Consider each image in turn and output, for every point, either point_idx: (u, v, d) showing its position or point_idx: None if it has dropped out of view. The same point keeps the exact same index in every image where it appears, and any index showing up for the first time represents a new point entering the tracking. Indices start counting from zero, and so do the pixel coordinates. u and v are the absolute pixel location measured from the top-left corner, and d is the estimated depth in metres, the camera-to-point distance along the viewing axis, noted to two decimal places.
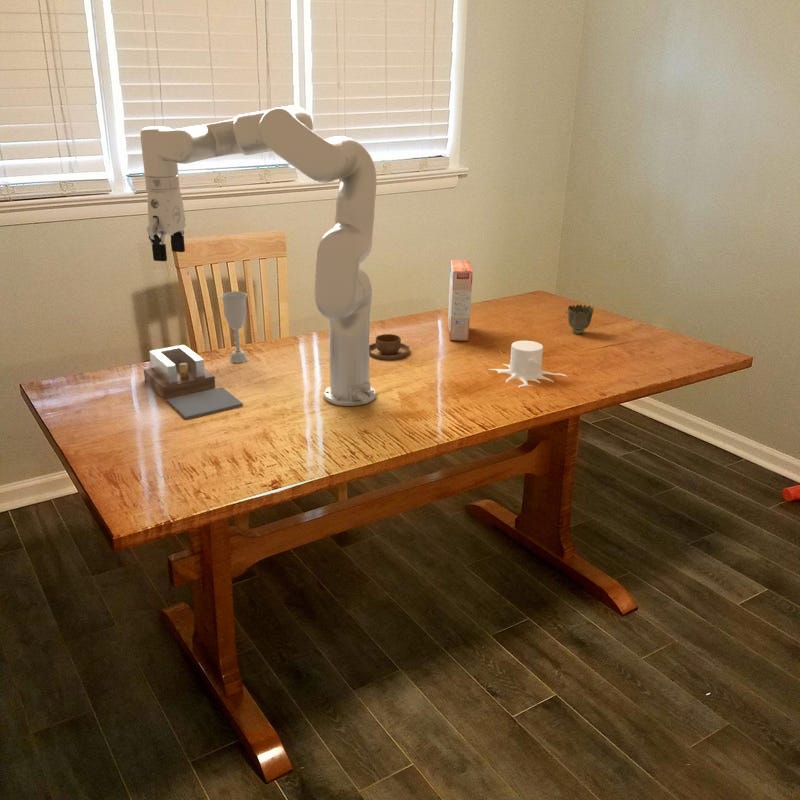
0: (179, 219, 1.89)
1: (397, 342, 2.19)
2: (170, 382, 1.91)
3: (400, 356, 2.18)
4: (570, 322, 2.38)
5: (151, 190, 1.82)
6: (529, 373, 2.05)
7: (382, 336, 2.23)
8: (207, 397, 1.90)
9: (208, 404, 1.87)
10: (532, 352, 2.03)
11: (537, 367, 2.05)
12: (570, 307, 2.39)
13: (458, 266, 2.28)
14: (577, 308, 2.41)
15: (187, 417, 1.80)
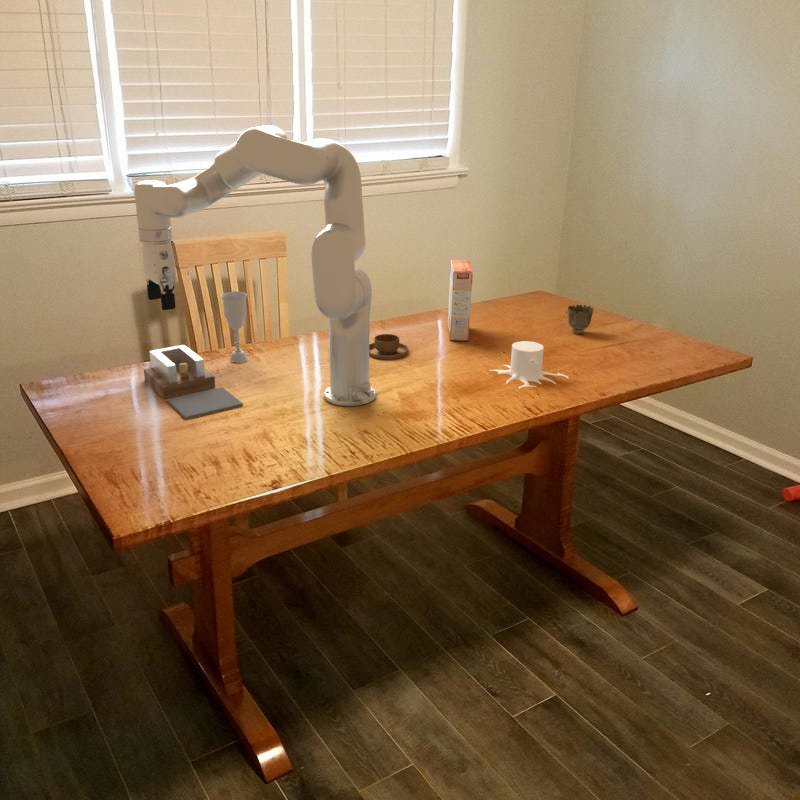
0: None
1: (395, 342, 2.19)
2: (170, 382, 1.91)
3: (398, 356, 2.18)
4: (570, 322, 2.38)
5: (156, 243, 1.87)
6: (530, 373, 2.04)
7: (381, 336, 2.24)
8: (207, 397, 1.90)
9: (208, 404, 1.87)
10: (533, 353, 2.02)
11: (538, 368, 2.05)
12: (570, 307, 2.39)
13: (458, 266, 2.28)
14: (577, 308, 2.41)
15: (187, 417, 1.80)
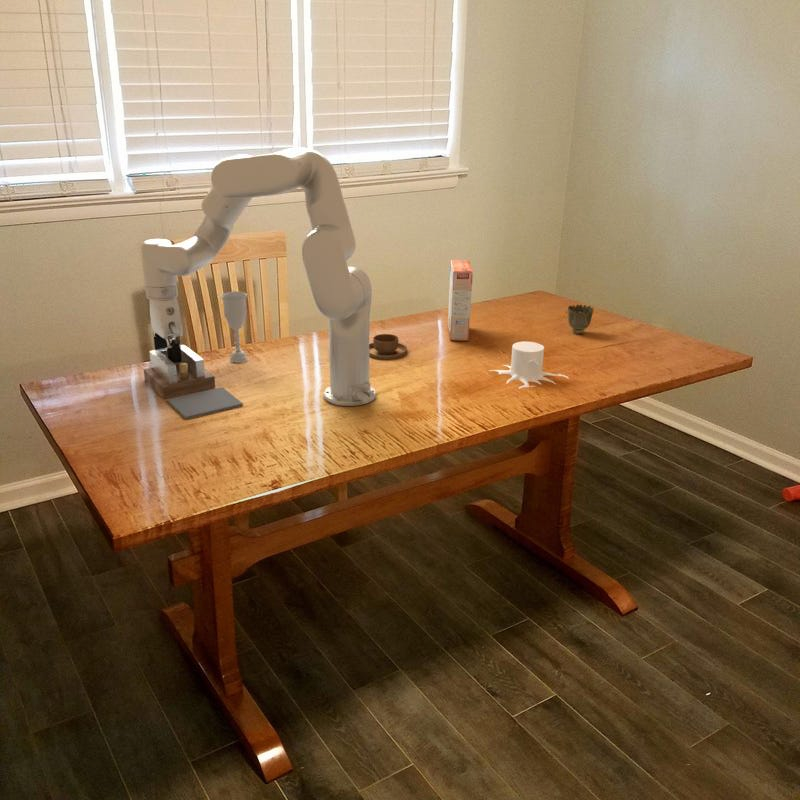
0: None
1: (394, 342, 2.19)
2: (170, 382, 1.91)
3: (396, 356, 2.18)
4: (570, 322, 2.38)
5: (163, 299, 1.92)
6: (530, 374, 2.04)
7: (380, 336, 2.24)
8: (207, 397, 1.90)
9: (208, 404, 1.87)
10: (533, 353, 2.02)
11: (538, 368, 2.04)
12: (570, 307, 2.39)
13: (458, 266, 2.28)
14: (577, 308, 2.41)
15: (187, 417, 1.80)
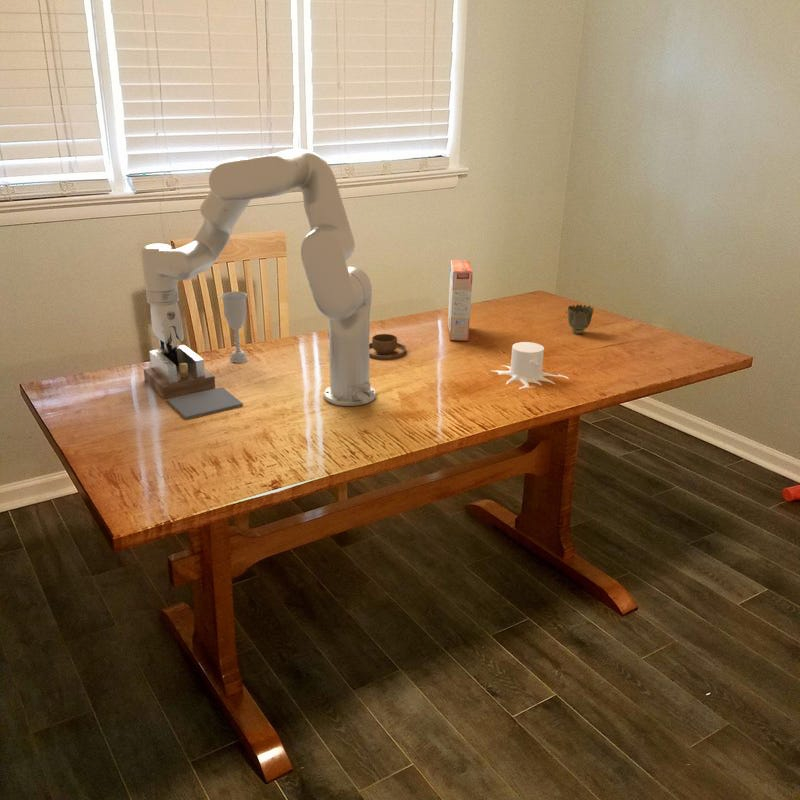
0: None
1: (393, 342, 2.19)
2: (170, 382, 1.91)
3: (395, 356, 2.18)
4: (570, 322, 2.38)
5: (163, 304, 1.93)
6: (530, 374, 2.04)
7: (379, 336, 2.24)
8: (207, 397, 1.90)
9: (208, 404, 1.87)
10: (533, 354, 2.02)
11: (538, 369, 2.04)
12: (570, 307, 2.39)
13: (458, 266, 2.28)
14: (577, 308, 2.41)
15: (187, 417, 1.80)
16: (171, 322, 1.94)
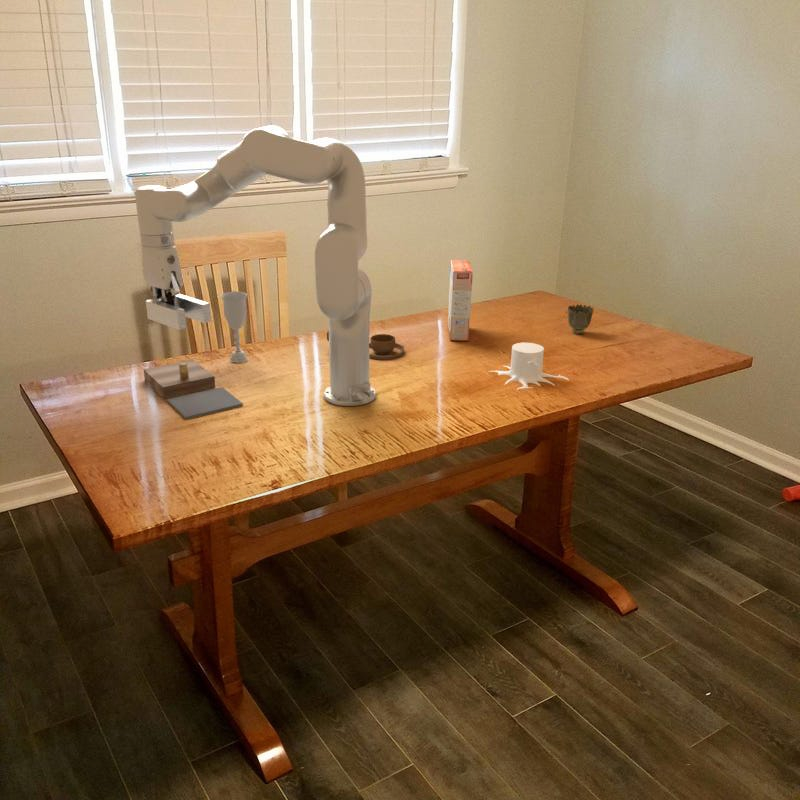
0: None
1: (391, 342, 2.19)
2: (180, 328, 1.85)
3: (392, 356, 2.17)
4: (570, 322, 2.38)
5: (162, 248, 1.85)
6: (529, 375, 2.03)
7: (378, 336, 2.24)
8: (207, 397, 1.90)
9: (208, 404, 1.87)
10: (532, 354, 2.01)
11: (537, 369, 2.04)
12: (570, 307, 2.39)
13: (458, 266, 2.28)
14: (577, 308, 2.41)
15: (187, 417, 1.80)
16: (171, 267, 1.87)
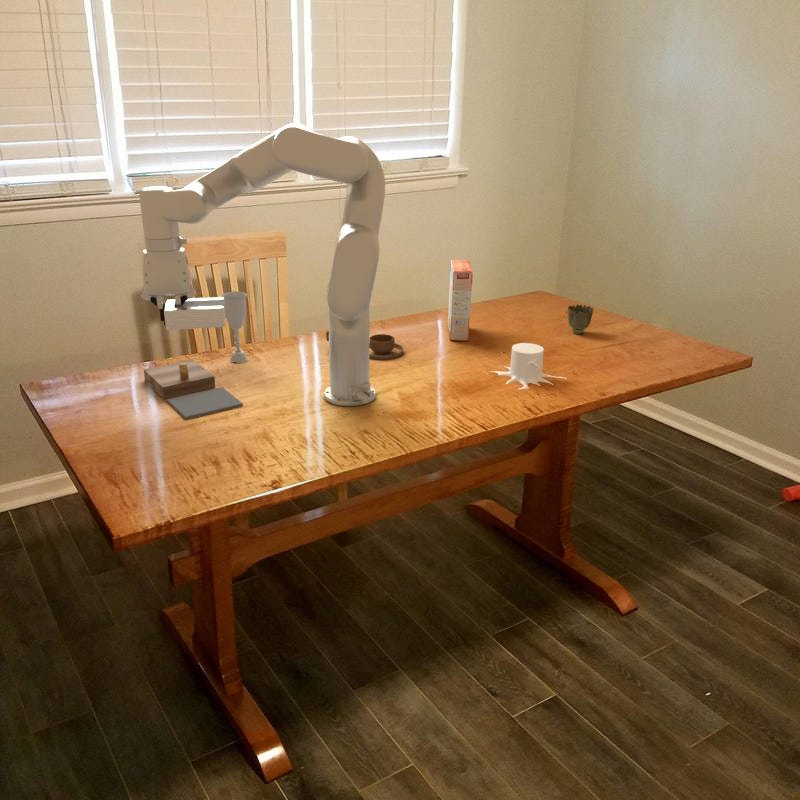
0: None
1: (390, 342, 2.19)
2: (224, 325, 1.82)
3: (391, 356, 2.17)
4: (570, 322, 2.38)
5: (179, 250, 1.77)
6: (529, 376, 2.03)
7: (377, 336, 2.24)
8: (207, 397, 1.90)
9: (208, 404, 1.87)
10: (532, 355, 2.01)
11: (537, 370, 2.03)
12: (570, 307, 2.39)
13: (458, 266, 2.28)
14: (577, 308, 2.41)
15: (187, 417, 1.80)
16: (188, 268, 1.80)
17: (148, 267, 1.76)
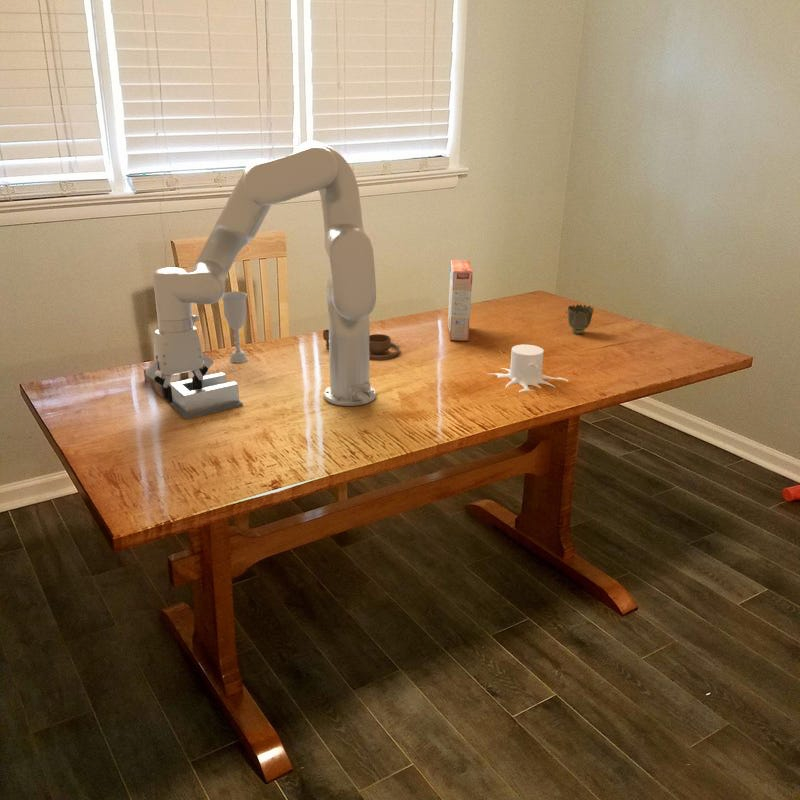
0: None
1: (385, 343, 2.18)
2: None
3: (386, 357, 2.17)
4: (570, 322, 2.38)
5: (193, 327, 1.79)
6: (529, 377, 2.02)
7: (374, 336, 2.24)
8: None
9: None
10: (533, 356, 2.00)
11: (538, 371, 2.02)
12: (570, 307, 2.39)
13: (458, 266, 2.28)
14: (577, 308, 2.41)
15: (187, 417, 1.80)
16: None
17: (166, 348, 1.76)
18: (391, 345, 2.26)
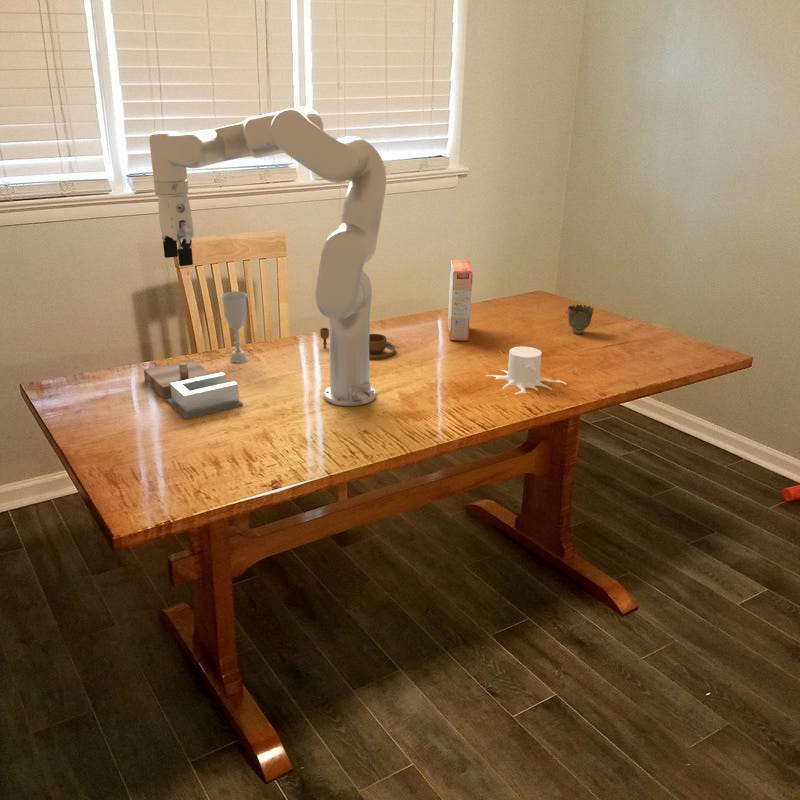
0: None
1: (380, 342, 2.18)
2: None
3: (380, 357, 2.17)
4: (570, 322, 2.38)
5: (172, 195, 1.81)
6: (527, 380, 2.01)
7: (371, 335, 2.24)
8: None
9: None
10: (530, 358, 1.98)
11: (535, 374, 2.01)
12: (570, 307, 2.39)
13: (458, 266, 2.28)
14: (577, 308, 2.41)
15: (187, 417, 1.80)
16: (181, 216, 1.82)
17: None
18: (388, 345, 2.26)
